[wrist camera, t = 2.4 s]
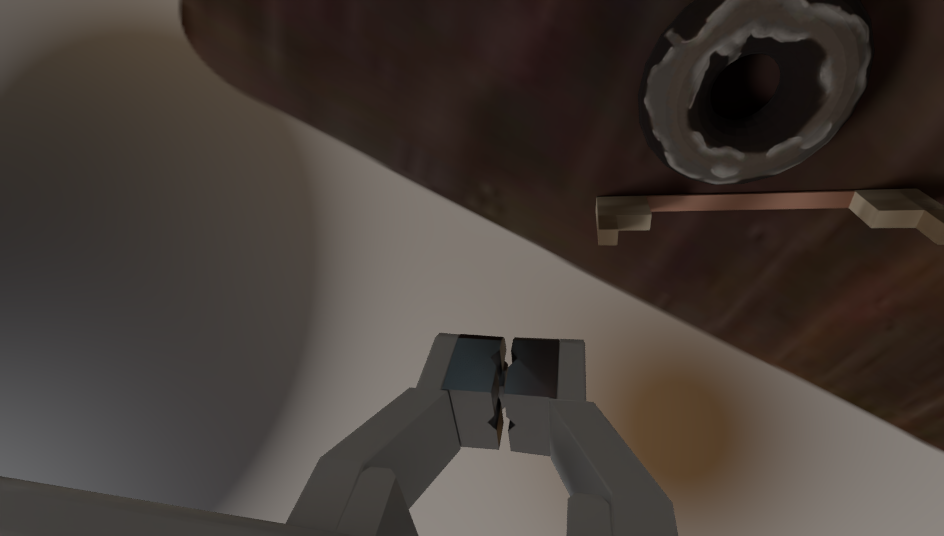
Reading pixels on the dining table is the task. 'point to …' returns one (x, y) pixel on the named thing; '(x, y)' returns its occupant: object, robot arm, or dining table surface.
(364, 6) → the dining table surface
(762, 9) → the donut
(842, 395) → the dining table surface
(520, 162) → the dining table surface
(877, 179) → the dining table surface
